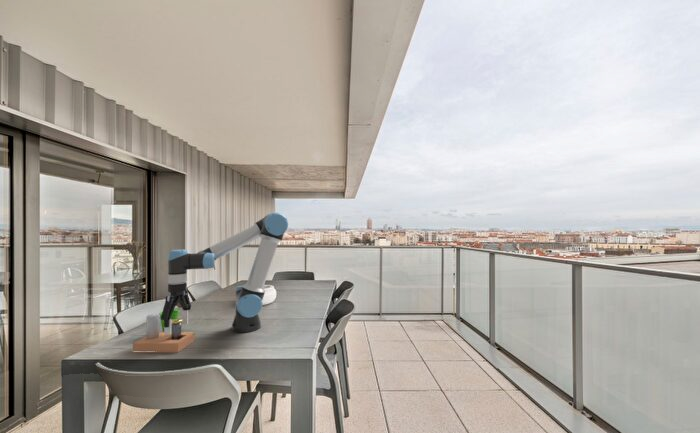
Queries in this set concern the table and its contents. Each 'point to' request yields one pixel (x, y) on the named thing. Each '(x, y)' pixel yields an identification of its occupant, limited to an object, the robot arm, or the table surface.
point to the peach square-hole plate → (161, 338)
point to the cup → (173, 316)
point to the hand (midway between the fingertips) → (176, 328)
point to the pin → (176, 329)
